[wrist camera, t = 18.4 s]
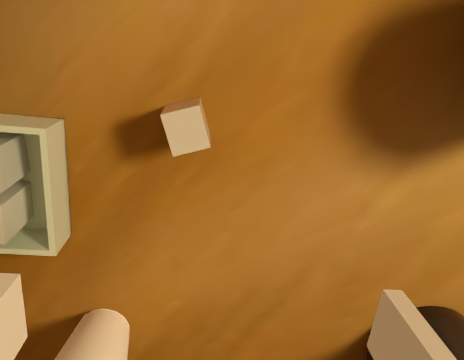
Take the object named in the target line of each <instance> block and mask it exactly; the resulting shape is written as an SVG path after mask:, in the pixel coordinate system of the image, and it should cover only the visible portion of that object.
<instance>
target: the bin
mask: <svg viewBox="0 0 464 360" xmlns="http://www.w3.org/2000/svg"><path fill="white" fill-rule="evenodd" d="M0 134H24V137H25V143H26V148H27V153H28V158H29V164H30V169H31V171H30V172H29V173H28V174H26V175H25V176H24V177H22V178H21V179H20V180H18V181H27V182H31V189H32V201H33V213H34V216H33V217H32V218H31V219H30V220H29V221H28V222H27V223H26V224H25V225H24V226H23V227H22V228H21V229H20V230H19V231H18V232H17V233H16V234H15V235H14V236H13V237H12V238H11V239H10V240H9V241H8V242H7V243H6V244H0V254H21V255H42V256H56V255H57V254H58V252H59V251H60V249H61V248H62V247H63V245H64V244H65V242H66V241H67V239H68V238H69V237H70V235H71V225H70V209H69V192H68V176H67V159H66V143H65V126H64V119H59V118H47V117H35V116H23V115H11V114H0Z"/></svg>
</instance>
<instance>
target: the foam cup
mask: <svg viewBox="0 0 464 360" xmlns="http://www.w3.org/2000/svg"><path fill="white" fill-rule="evenodd" d="M128 343H129V324H128V322H127V320H126V319H125V317H124V316H122V315H121V314H119V313H118V312H116V311H113V310H109V309H105V308H104V309H96V310H92V311H90V312H89V313H87V314H85V315H84V316H83V318H82V319H81V320H80V322H79V323H78V325H77V326H76V328H75V329H74V331H73V332H72V334H71V335H70V337H69V338H68V340H67V341H66V343H65V344H64V346H63V347H62V349H61V350H60V352H59V353H58V355H57V356H56V358H55V359H54V360H127V355H128Z"/></svg>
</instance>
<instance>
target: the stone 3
mask: <svg viewBox="0 0 464 360" xmlns="http://www.w3.org/2000/svg"><path fill="white" fill-rule="evenodd" d="M160 116H161V120H162V123H163V126H164V129H165V133H166V136H167V139H168V142H169V146H170V149H171V152H172V155H173V157H174V156H178V155H182V154H186V153H190V152H194V151H198V150H202V149H206V148H210V147H211V146H210V133H209V129H208V126H207V122H206V118H205V114H204V110H203V106H202V103H201V99H200V97H199V98H195V99H191V100H187V101H183V102H179V103H175V104H171V105H167V106H165V108H164V109H163V111H162V113H161V114H160Z"/></svg>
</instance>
